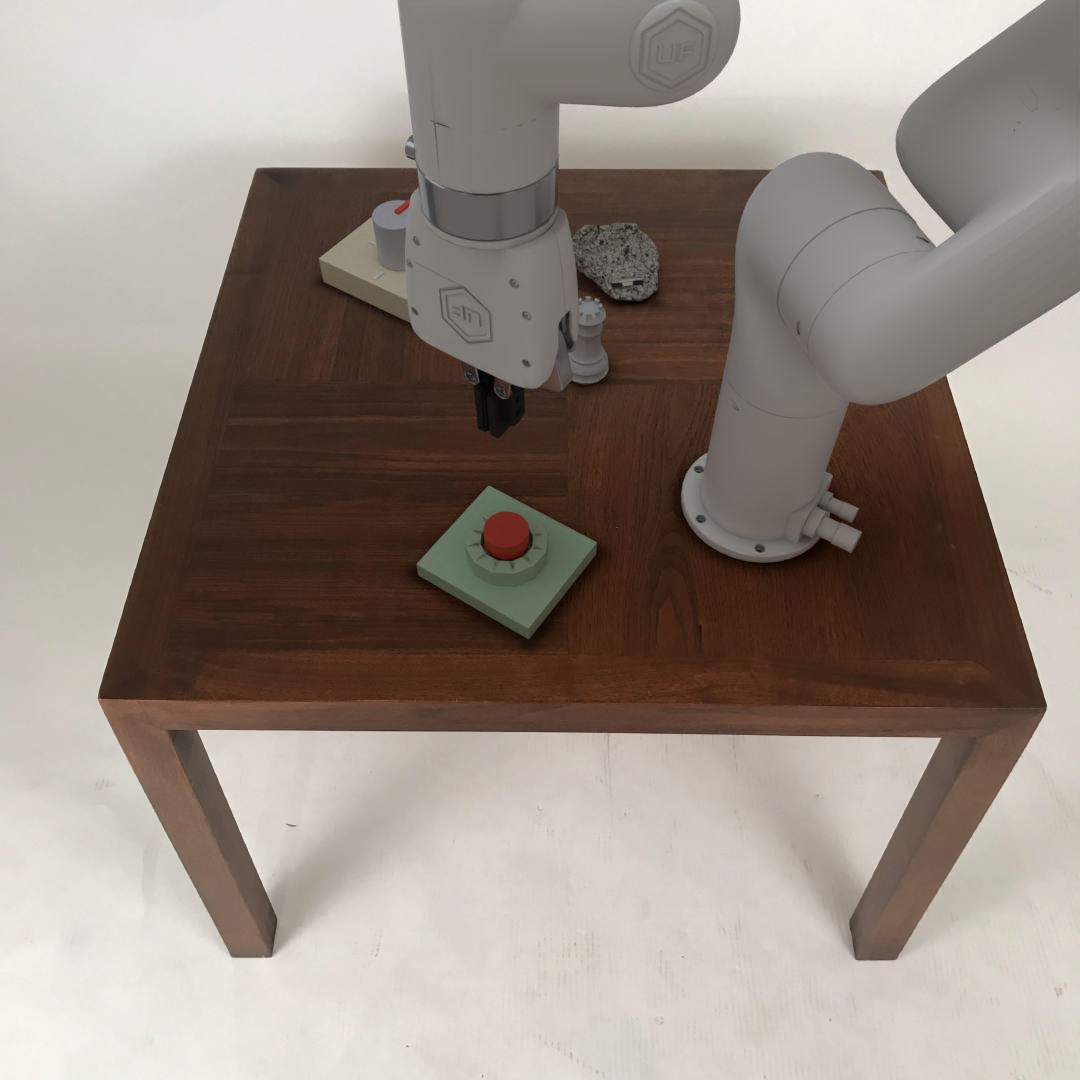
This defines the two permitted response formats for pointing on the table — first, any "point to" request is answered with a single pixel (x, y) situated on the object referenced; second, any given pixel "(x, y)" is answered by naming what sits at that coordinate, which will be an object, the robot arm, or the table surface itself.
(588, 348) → the rook chess piece
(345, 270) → the panel
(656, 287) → the rock sample
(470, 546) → the button block
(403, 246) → the knob
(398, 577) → the table surface
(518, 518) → the button
